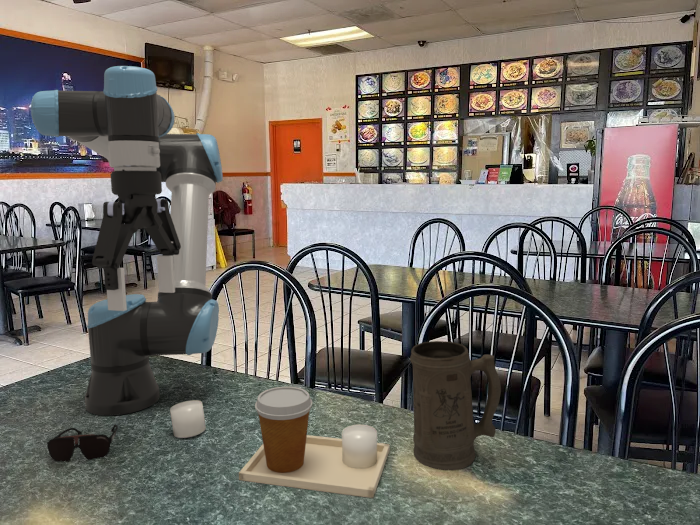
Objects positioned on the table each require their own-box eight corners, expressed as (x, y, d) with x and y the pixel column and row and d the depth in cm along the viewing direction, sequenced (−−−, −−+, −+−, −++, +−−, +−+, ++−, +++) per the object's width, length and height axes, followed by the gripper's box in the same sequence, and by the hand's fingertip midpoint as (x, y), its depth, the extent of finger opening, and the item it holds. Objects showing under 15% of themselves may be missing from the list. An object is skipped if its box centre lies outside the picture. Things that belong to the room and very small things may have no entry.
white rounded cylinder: (346, 449, 98) (346, 422, 97) (380, 453, 96) (380, 426, 96) (338, 466, 92) (338, 438, 91) (373, 470, 91) (373, 442, 90)
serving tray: (273, 440, 102) (273, 431, 102) (389, 453, 97) (389, 444, 97) (239, 483, 88) (238, 472, 88) (373, 501, 83) (373, 490, 83)
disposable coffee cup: (309, 479, 88) (308, 409, 86) (250, 477, 89) (248, 407, 87) (316, 450, 97) (315, 386, 95) (263, 448, 98) (261, 384, 96)
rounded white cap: (170, 439, 103) (166, 414, 102) (178, 426, 109) (174, 402, 108) (202, 435, 103) (198, 410, 102) (208, 422, 109) (205, 398, 108)
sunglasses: (44, 467, 94) (42, 438, 94) (68, 443, 105) (66, 417, 105) (109, 461, 95) (108, 433, 95) (125, 438, 107) (124, 413, 107)
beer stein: (419, 476, 90) (420, 359, 87) (402, 445, 100) (403, 340, 97) (507, 468, 92) (512, 354, 89) (482, 439, 103) (485, 336, 100)
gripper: (103, 168, 74) (114, 320, 77) (196, 170, 98) (202, 286, 101) (56, 168, 76) (69, 317, 79) (159, 170, 100) (166, 285, 103)
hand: (144, 300), depth 90 cm, fingers open, 13 cm apart
